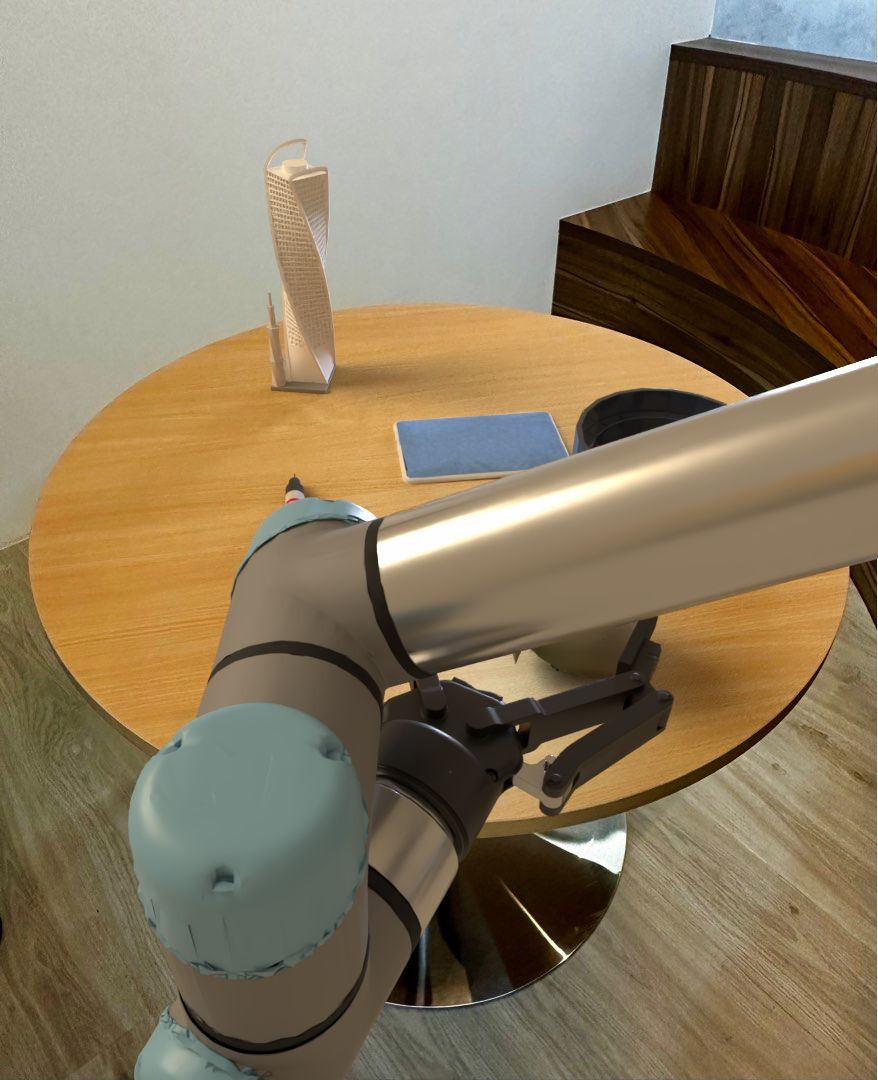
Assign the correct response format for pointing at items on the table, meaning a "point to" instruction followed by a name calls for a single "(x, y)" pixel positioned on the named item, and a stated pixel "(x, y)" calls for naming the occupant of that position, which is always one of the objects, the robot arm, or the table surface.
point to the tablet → (476, 446)
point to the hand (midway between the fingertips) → (555, 575)
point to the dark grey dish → (635, 414)
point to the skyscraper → (300, 274)
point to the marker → (294, 490)
